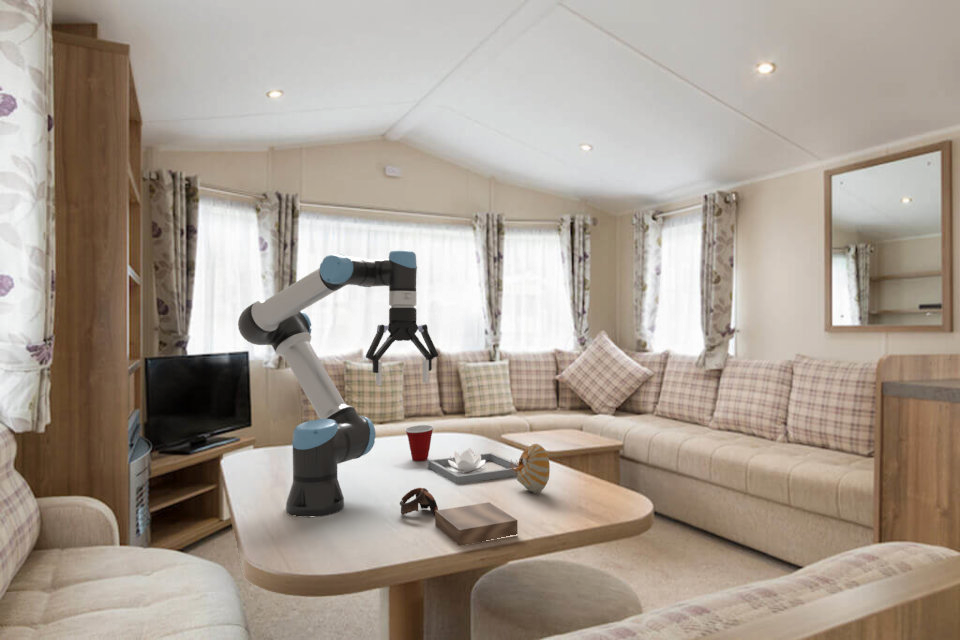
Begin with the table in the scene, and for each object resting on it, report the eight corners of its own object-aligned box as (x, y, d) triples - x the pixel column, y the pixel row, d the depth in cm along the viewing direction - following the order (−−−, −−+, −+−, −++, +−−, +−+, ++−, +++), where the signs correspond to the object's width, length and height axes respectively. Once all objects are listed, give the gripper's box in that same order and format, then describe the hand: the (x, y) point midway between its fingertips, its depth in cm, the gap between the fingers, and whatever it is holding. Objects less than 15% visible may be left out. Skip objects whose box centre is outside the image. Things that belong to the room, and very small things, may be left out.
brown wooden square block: (459, 552, 133) (459, 530, 133) (435, 530, 146) (435, 510, 146) (517, 541, 139) (517, 520, 139) (489, 521, 153) (489, 502, 153)
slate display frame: (457, 484, 186) (457, 476, 186) (428, 467, 207) (428, 460, 207) (526, 474, 197) (526, 467, 197) (491, 459, 219) (491, 452, 219)
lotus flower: (435, 475, 197) (435, 449, 197) (465, 467, 208) (465, 442, 208) (467, 483, 187) (466, 456, 187) (496, 474, 199) (496, 448, 199)
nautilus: (523, 480, 191) (523, 433, 191) (559, 498, 171) (558, 446, 171) (501, 482, 187) (501, 435, 187) (535, 501, 168) (535, 449, 168)
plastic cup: (400, 457, 222) (400, 426, 222) (427, 454, 227) (427, 423, 227) (410, 464, 212) (410, 430, 212) (438, 460, 217) (438, 428, 217)
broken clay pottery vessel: (440, 523, 151) (425, 496, 149) (408, 537, 152) (392, 512, 150) (444, 498, 162) (429, 474, 161) (414, 512, 164) (399, 488, 162)
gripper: (362, 306, 153) (362, 387, 153) (449, 307, 165) (449, 383, 165) (354, 306, 160) (354, 384, 160) (439, 307, 171) (439, 380, 171)
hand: (402, 384), depth 162 cm, fingers open, 13 cm apart
